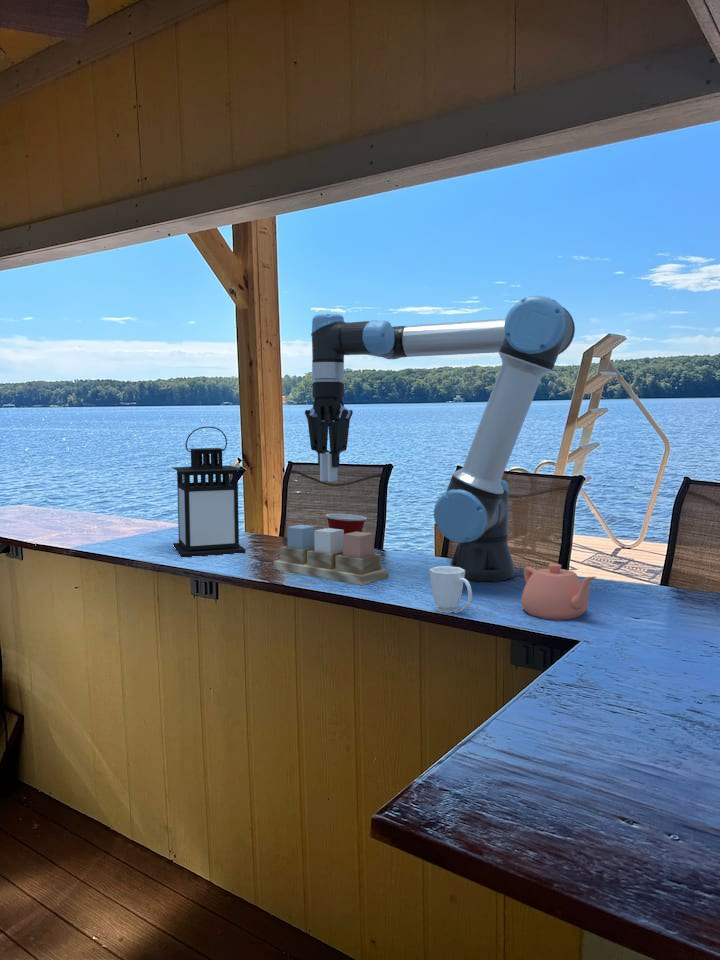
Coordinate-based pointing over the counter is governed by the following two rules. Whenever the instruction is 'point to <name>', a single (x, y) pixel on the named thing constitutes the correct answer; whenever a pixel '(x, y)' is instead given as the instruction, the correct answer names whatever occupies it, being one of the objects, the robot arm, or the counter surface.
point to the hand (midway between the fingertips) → (328, 480)
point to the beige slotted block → (331, 565)
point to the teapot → (555, 593)
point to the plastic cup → (346, 522)
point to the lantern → (207, 505)
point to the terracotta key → (358, 544)
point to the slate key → (301, 536)
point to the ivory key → (328, 540)
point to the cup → (449, 588)
